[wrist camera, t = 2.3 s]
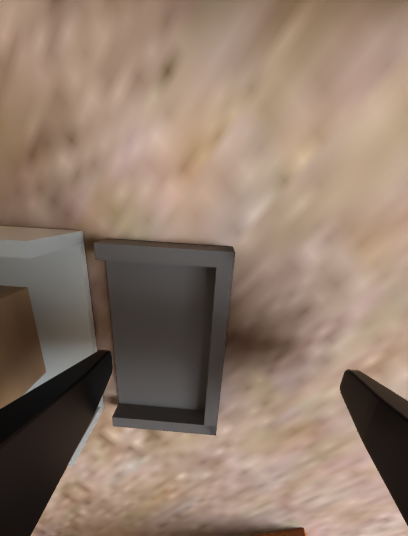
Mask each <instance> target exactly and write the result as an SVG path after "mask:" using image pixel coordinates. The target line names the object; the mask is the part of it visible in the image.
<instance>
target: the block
mask: <svg viewBox="0 0 408 536" xmlns="http://www.w3.org/2000/svg"><path fill="white" fill-rule="evenodd" d="M45 373H46V368H45V364H44V359H43V355H42V350H41V346H40V341H39V337H38V332H37V328H36V323H35V319H34V314H33V310H32V305H31V301H30V296H29V292H28V287H16V286H2V285H0V409H1V408H2V407H4V406H6V405H8V404H9V403H11V402H13V401H14V400H16V399H18V398H19V397H21V396H23V395H24V394H25V393H26V392H27V391H28V390H29V389H30V388H31V387H32V386H33V385H34V384H35V383H36V382H37V381H38V380H39V379H40V378H41V377H42V376H43V375H44V374H45Z"/></svg>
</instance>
